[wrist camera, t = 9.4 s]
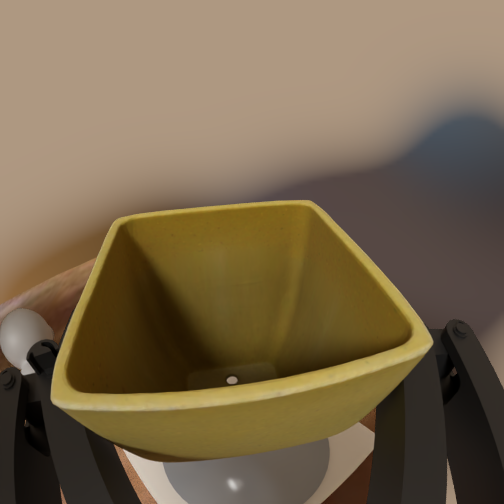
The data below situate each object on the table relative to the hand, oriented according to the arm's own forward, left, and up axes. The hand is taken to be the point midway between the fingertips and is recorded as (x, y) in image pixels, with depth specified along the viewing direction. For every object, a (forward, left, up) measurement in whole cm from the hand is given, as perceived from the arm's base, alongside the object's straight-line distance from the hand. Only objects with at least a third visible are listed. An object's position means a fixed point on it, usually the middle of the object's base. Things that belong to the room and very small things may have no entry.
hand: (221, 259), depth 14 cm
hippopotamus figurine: (-16, -16, -18) cm, 30 cm away
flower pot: (+4, -2, -6) cm, 8 cm away
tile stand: (+3, -1, -18) cm, 18 cm away
